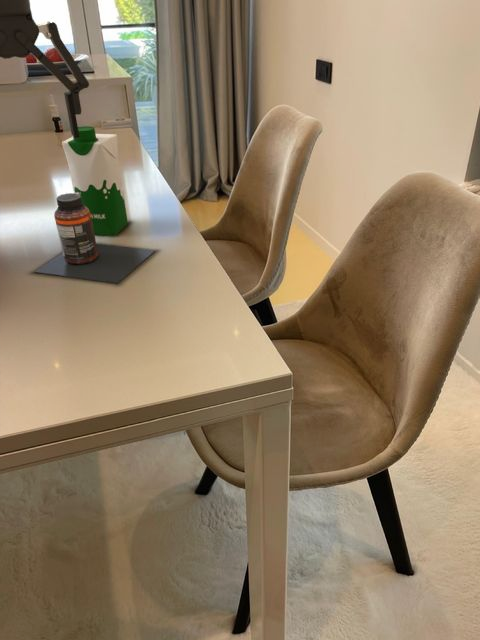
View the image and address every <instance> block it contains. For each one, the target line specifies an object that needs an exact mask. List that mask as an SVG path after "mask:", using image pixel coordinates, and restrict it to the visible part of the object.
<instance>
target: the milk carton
mask: <svg viewBox="0 0 480 640" xmlns="http://www.w3.org/2000/svg"><path fill="white" fill-rule="evenodd" d="M78 131H79V137H78V138H75V137H74V136H73V135H71V137H69V138H67V139H65V140H63V141H62V142H61V145H62V148H63V151H64V154H65V158H66V161H67V165H68V170H69V175H70V181H71V185H72V190H73V193H75V194H79V195H80V196H81V199H82V204H83V205H84V206H86V207H87V208H88V209H89V211H90V215H91V219H92V224H93V230H94V235H95V236H106V237H115V236H117V235H118V234H119V233H120V232H121V231H122V230H123V229H124V228H125V227H126V226H127V225H128V224H129V221H128V215H127V208H126V203H125V195H124V189H123V181H122V180H123V179H122V175H121V168H120V160H119V147H118V134H116V133H115V134H113V133H96V128H95V127H93V126H88V125H87V126H84V125H83V126H78Z"/></svg>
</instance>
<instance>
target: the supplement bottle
mask: <svg viewBox="0 0 480 640" xmlns="http://www.w3.org/2000/svg"><path fill="white" fill-rule="evenodd" d="M56 204H57V208H56V210H55V211H54V221H55V225H56V230H57V234H58V238H59V242H60V248H61V251H62V253H63V255H64V259H65V261H66V262H68V263H71V264H84V263H89V262H91V261H93V260H95V259H96V258H97V256H98V250H97V245H96V244H97V240H96V235H94V230H93V224H92V219H91V215H90V211H89V209H88V208H87V207H86V206H84V205H83V204H82V199H81V196H80V195H79V194H75V193H74V192H73V193H72V192H70V193H63V194H60V195H58V196H56Z"/></svg>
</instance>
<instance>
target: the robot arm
mask: <svg viewBox="0 0 480 640" xmlns="http://www.w3.org/2000/svg"><path fill="white" fill-rule="evenodd" d="M40 34H42V35H43V36H44V38H45V39H46V40H50V42H51V44H52V45H53V48H55V50H56V52H57V53H58V55H59V56H60V57H61V59H62V61H63V62H64V64H65V66H66V67H67V68H68V70H69V71H70V74H71V75H72V76H73V77H74V79H75V81H72V80H71V79H70V78H69V77H68V76H67V75H66V74H65V73H64V72H63V71H62V70H61V69H60V68H59V67H58V66H57V65H56V64H55V63H54V62H53V61H52V60H51V59H50V58H49V57H48V56H47V55H46V54H45V53H44V52H43V51H42V50H41V49H40V48H39V47H38V46H37V45H35V44H36V42H37V40H38V37H39V36H40ZM30 54H31V55H32V56H33V57H34V58H35V59H36V60H37V61H38V62H39V63H40V64H41V65H42V66H43V67H44V68H45V69H46V70H48V72H49V73H50V74H52V75H53V76H54V77H55V78H56V79H57V80H58V81H59V82H60V83H61V84H62V85H63V86H64V87H65V88H66V89H67V90H68V91H66V92H65V91H64V92H63V95H64V100H65V101H64V102H65V106H66V112H67V117H68V123H69V128H70V134H71V136H74V137H75V138H78V137H79V131H78V127H79V126H78V121H77V116H79V115H82V105H81V99H80V92H81V91H82V90H84V89H88V88H89V87H90V83H89V80H88V79H87V78H86V76H85V74H84V72H83V71H82V70H81V68H80V67H79V65H78V64H77V62H76V60H75V59H74V57H73V56H72V54H71V52H70V51H69V49H68V48H67V46H66V44H65V43H64V41H63V40H62V38H61V35H60V31H59V28H58V25H57V24H56V22H54V21H50V20H49V21H47V22H46V23H40V24H37V23H36V21H35V20H34V16H33V12H32V7H31V2H30V0H0V58H1V59H5V60H6V59H12V58H14V57H16V58H20V59H23V58H27V57H28V56H30Z"/></svg>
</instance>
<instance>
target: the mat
mask: <svg viewBox="0 0 480 640" xmlns="http://www.w3.org/2000/svg"><path fill="white" fill-rule="evenodd" d="M96 245H97V250H98V256H97V258H96V259H95V260H93V261H91V262H89V263H84V264H71V263H68V262H66V261H65V259H64V255H63V252H62V253H60V254H59V255H57V256H55V258H52V259H51V260H50V261H48V262H47V263H45V264H44V265H42V266H41V267H39V268H38V269H37V270H35V271H34V274H41V275H46V276H47V275H48V276H55V277H61V278H68V279H69V278H70V279H78V280H83V281H84V280H85V281H92V282H100V283H107V284H114V285H119V284H120V283H121V282H122V281H124V280H125V278H127V277H128V276H129V275H130V274H131V273H133V272H134V271H135V270H136V269H137V268H138V267H139V266H141V265H142V264H143V263H144V262H145V261H146V260H148V258H150V257H151V256H152V255H154V253H155V252H156V250H154V249H153V250H152V249H147V248H146V249H144V248H137V247H136V248H135V247H127V246H119V245H113V244H112V245H111V244H102V243H96Z"/></svg>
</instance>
